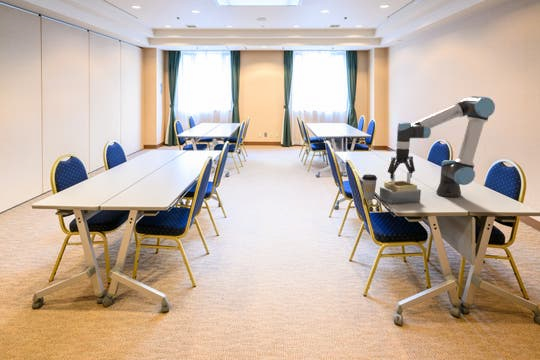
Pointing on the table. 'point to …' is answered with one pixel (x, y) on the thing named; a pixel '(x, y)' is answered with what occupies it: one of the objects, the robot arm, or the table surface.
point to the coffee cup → (369, 186)
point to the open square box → (400, 193)
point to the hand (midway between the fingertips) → (400, 183)
